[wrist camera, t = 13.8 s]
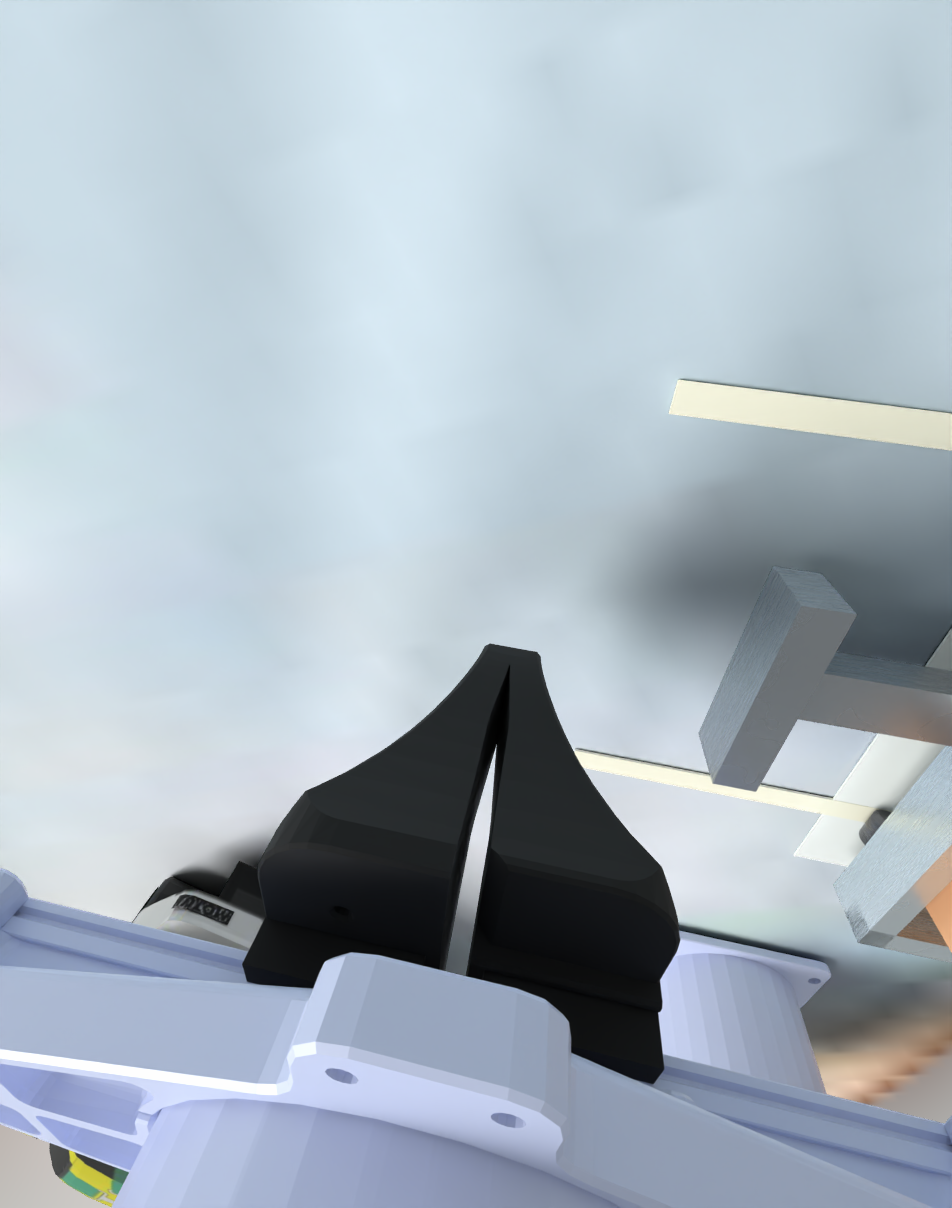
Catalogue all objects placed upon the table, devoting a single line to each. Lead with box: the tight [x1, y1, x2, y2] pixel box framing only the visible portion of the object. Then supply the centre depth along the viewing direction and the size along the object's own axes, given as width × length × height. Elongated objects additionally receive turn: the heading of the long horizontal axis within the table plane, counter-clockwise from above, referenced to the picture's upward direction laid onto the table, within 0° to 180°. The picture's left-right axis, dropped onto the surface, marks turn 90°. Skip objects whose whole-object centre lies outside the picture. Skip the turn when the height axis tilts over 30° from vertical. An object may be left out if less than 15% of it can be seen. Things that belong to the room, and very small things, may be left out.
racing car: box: [21, 861, 266, 1207], centre depth 32 cm, size 17×39×12 cm, turn 147°
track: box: [574, 379, 952, 867], centre depth 16 cm, size 19×18×1 cm
